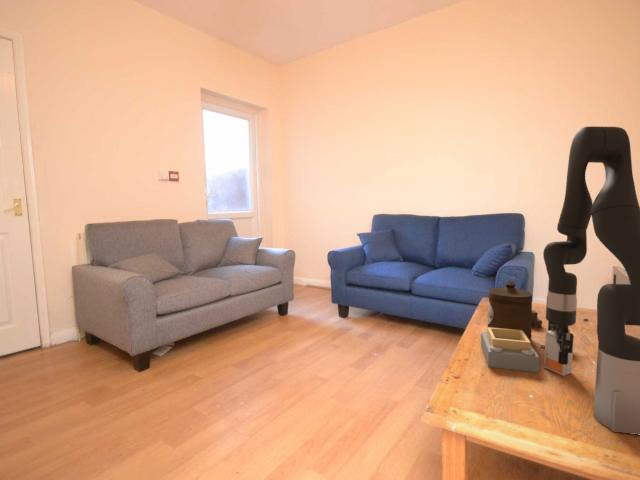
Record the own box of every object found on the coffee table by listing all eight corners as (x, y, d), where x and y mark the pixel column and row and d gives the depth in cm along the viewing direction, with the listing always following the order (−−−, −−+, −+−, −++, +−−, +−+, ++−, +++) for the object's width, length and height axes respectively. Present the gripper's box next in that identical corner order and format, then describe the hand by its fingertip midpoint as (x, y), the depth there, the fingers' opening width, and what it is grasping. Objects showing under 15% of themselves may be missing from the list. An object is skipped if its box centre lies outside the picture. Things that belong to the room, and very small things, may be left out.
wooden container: (495, 327, 143) (497, 276, 141) (536, 337, 133) (538, 281, 130) (481, 337, 133) (482, 282, 131) (523, 348, 123) (526, 288, 120)
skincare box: (543, 367, 108) (545, 331, 107) (551, 364, 110) (553, 328, 109) (563, 376, 103) (566, 337, 102) (572, 373, 105) (574, 335, 103)
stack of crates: (537, 320, 153) (538, 305, 152) (557, 332, 138) (558, 316, 137) (502, 319, 155) (502, 304, 154) (517, 332, 140) (518, 315, 139)
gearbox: (538, 372, 106) (539, 347, 105) (488, 366, 110) (488, 342, 109) (523, 348, 123) (524, 327, 122) (480, 344, 127) (481, 323, 126)
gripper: (585, 314, 96) (582, 370, 98) (567, 300, 110) (564, 350, 112) (554, 312, 99) (551, 367, 101) (540, 299, 112) (537, 347, 114)
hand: (558, 358), depth 106 cm, fingers closed on skincare box, 7 cm apart
